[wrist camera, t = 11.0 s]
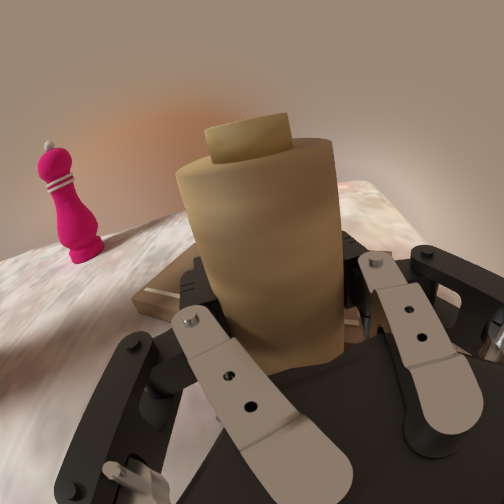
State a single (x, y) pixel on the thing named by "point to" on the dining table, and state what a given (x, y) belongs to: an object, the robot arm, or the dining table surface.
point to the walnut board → (168, 294)
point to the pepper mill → (69, 206)
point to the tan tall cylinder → (270, 239)
